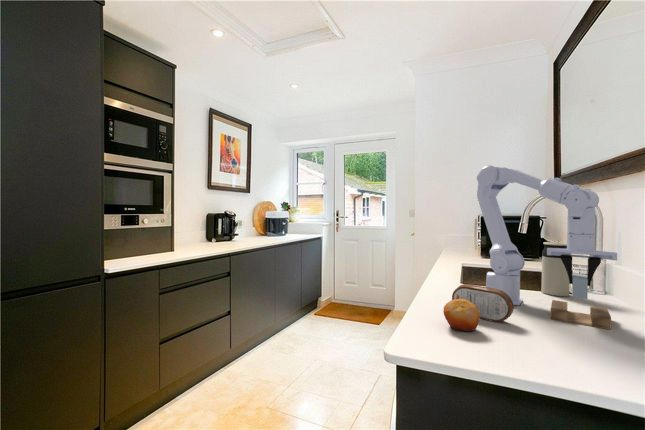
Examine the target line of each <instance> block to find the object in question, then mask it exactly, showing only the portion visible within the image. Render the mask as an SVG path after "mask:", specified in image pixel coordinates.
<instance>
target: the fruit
mask: <svg viewBox="0 0 645 430" xmlns="http://www.w3.org/2000/svg"><path fill="white" fill-rule="evenodd" d="M442 311H443V317H444V318H445V320H446V322H447V323H448V325H449V327H450V328H451V329H452V330H455V331H463V332H466V331H467V332H472V331H473V332H474V330H476V329H477V328H478V325H479V322H480V319H481V318H480V313H479V311H478V308H477V306H476V305H474V304H473V303H471V302H470V301H468V300H467V299H454V300H452V299H451V300H449V301H447V302H446V303H445V305H444V306H443V310H442Z"/></svg>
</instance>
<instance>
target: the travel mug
mask: <svg viewBox="0 0 645 430" xmlns="http://www.w3.org/2000/svg"><path fill="white" fill-rule="evenodd" d="M542 243H543V245H544V248H543V250H542V252H541V257H542V258H541V286H540V287H541V290H540V291H541V292H542V293H543V294H545V293H546V294H545V295H548V294H550V295H549V296H552V295H554V297H562V296H563V297H569V296H570V287H571V286H570V285H571V284H569V277H568V274H567V271H566V268H565V266H564V264H563V262H562V260H561V256H556V255H547V248H562V249H567V242H557V241H556V242H553V241H551V242H550V241H545V242H542ZM569 255H571V254H569Z"/></svg>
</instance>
